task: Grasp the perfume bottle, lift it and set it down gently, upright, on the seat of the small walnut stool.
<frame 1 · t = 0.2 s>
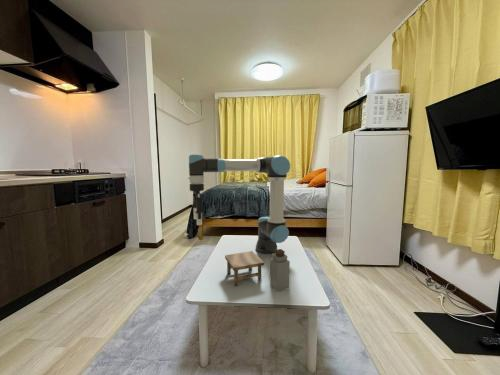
hand: (197, 221, 121), 28 cm above the table, fingers open, 13 cm apart
stool: (243, 276, 116), on the table
perfume bottle: (279, 286, 107), on the table
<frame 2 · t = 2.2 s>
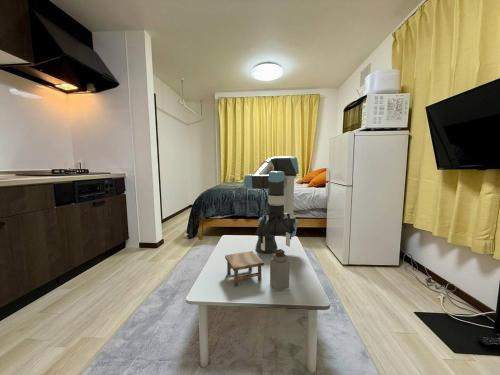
hand: (275, 247, 106), 19 cm above the table, fingers open, 13 cm apart
nothing on the table moved.
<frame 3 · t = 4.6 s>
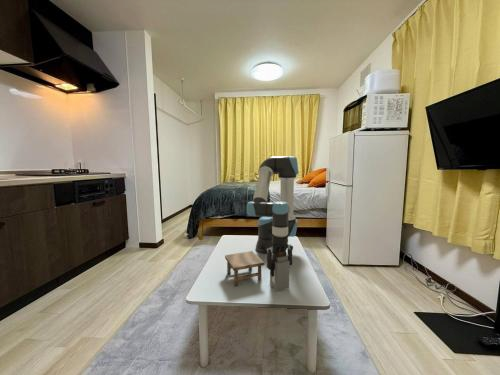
hand: (279, 280, 107), 3 cm above the table, fingers closed on perfume bottle, 5 cm apart
perfume bottle: (279, 286, 107), on the table, touching gripper
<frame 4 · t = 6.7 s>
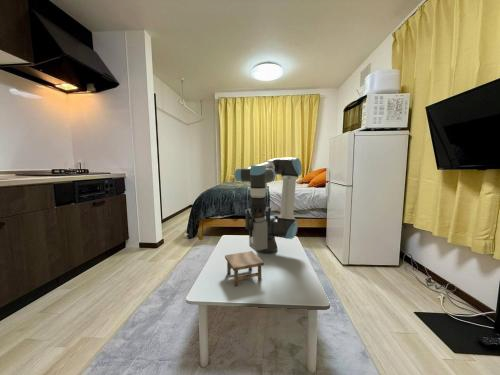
hand: (258, 241, 111), 20 cm above the table, fingers closed on perfume bottle, 5 cm apart
perfume bottle: (258, 247, 111), point 17 cm above the table, touching gripper
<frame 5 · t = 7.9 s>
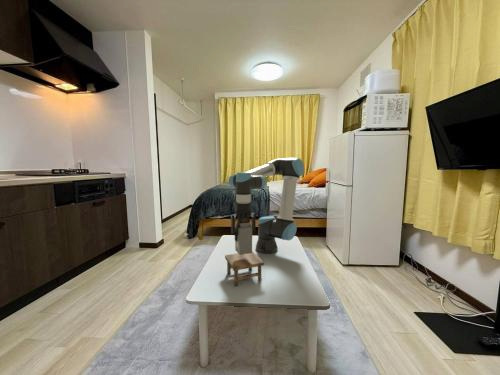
hand: (243, 246, 114), 17 cm above the table, fingers closed on perfume bottle, 5 cm apart
perfume bottle: (243, 251, 115), point 14 cm above the table, touching gripper
when the fingers open (14 cm above the table, at t = 9.0 s): perfume bottle drops 1 cm, resting on stool.
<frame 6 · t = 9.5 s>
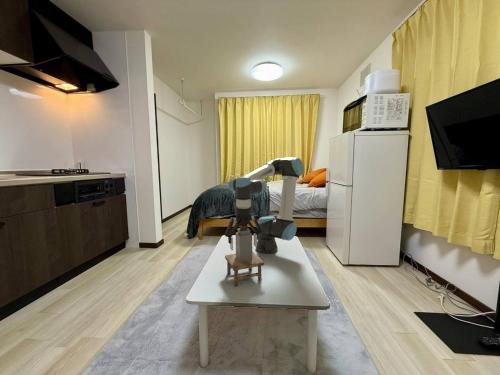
hand: (243, 247, 114), 16 cm above the table, fingers open, 12 cm apart
perfume bottle: (244, 259, 115), point 10 cm above the table, touching stool
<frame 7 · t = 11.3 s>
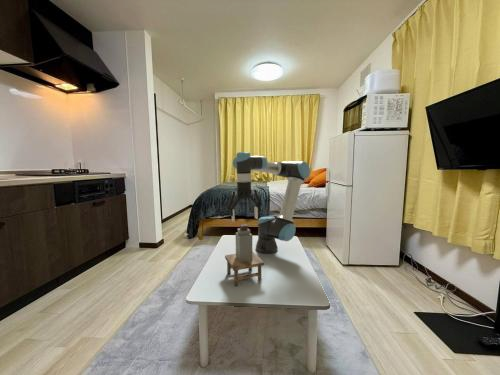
hand: (245, 220, 120), 29 cm above the table, fingers open, 13 cm apart
nothing on the table moved.
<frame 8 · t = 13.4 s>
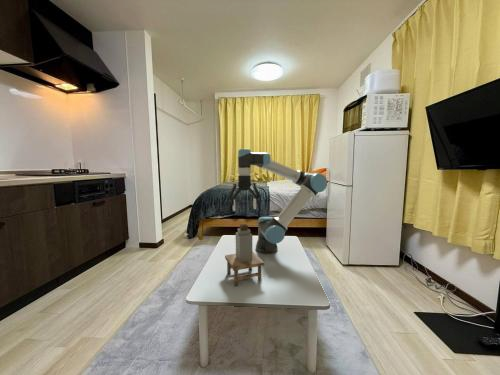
hand: (244, 209, 134), 32 cm above the table, fingers open, 13 cm apart
nothing on the table moved.
at the end: perfume bottle inside the target area on the stool (0.1 cm from its centre), point 9.8 cm above the stool's base; perfume bottle tilted 0°; the gripper is holding nothing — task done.
